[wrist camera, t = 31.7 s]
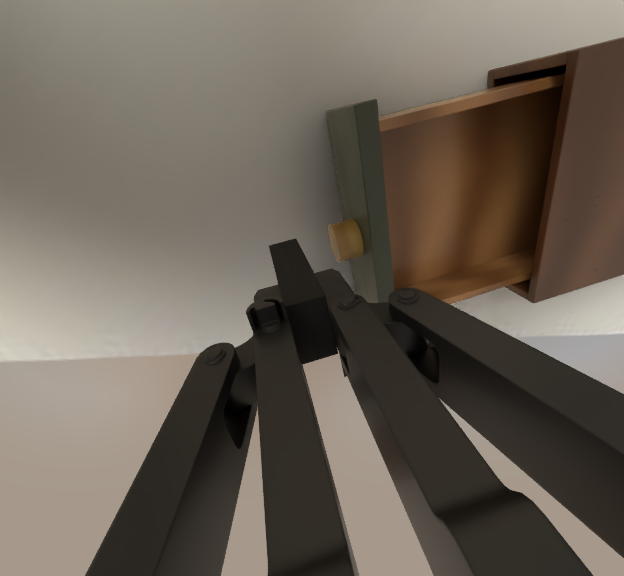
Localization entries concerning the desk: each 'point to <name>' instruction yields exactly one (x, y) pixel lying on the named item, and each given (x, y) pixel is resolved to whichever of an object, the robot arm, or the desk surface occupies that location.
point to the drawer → (444, 189)
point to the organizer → (579, 171)
